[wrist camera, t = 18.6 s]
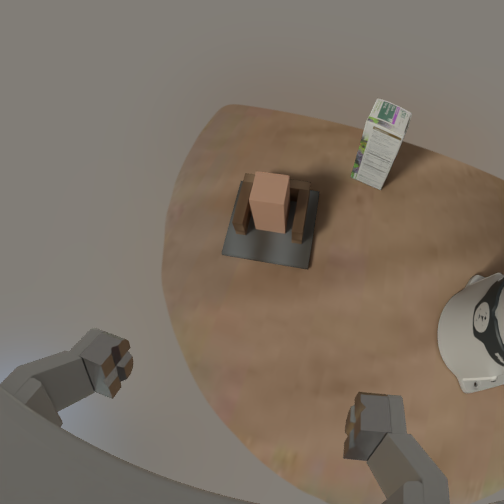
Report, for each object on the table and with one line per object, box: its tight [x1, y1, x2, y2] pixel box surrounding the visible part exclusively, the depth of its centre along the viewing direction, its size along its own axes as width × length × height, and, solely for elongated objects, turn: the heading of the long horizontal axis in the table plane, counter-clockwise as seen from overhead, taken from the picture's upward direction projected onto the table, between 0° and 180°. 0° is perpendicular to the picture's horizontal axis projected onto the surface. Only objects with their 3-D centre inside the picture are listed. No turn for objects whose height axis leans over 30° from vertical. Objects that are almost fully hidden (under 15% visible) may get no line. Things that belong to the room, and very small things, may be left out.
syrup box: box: [351, 99, 412, 190], centre depth 44 cm, size 6×6×14 cm
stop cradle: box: [222, 173, 319, 269], centre depth 48 cm, size 13×13×5 cm
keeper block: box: [249, 171, 290, 234], centre depth 45 cm, size 4×4×9 cm
